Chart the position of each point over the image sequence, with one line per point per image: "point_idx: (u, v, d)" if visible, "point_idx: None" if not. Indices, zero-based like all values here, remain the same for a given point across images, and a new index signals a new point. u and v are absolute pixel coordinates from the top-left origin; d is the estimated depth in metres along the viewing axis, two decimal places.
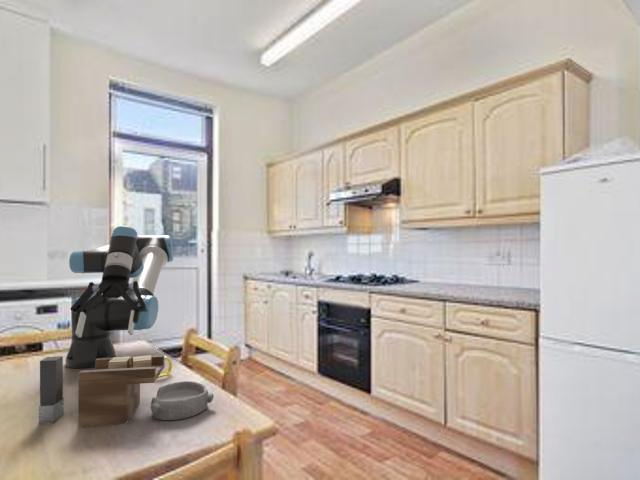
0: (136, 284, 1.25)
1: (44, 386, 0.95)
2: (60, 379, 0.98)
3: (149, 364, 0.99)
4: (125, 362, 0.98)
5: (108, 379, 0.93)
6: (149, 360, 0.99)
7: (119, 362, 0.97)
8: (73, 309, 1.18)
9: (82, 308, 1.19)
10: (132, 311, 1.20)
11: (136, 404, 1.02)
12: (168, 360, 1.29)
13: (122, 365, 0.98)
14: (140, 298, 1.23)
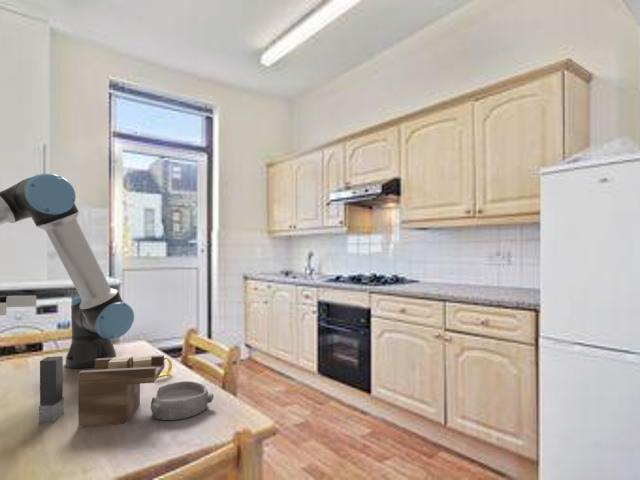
0: None
1: (44, 386, 0.95)
2: (60, 379, 0.98)
3: (149, 364, 0.99)
4: (125, 362, 0.98)
5: (108, 379, 0.93)
6: (149, 360, 0.99)
7: (119, 362, 0.97)
8: None
9: None
10: None
11: (136, 404, 1.02)
12: (168, 360, 1.29)
13: (122, 365, 0.98)
14: None
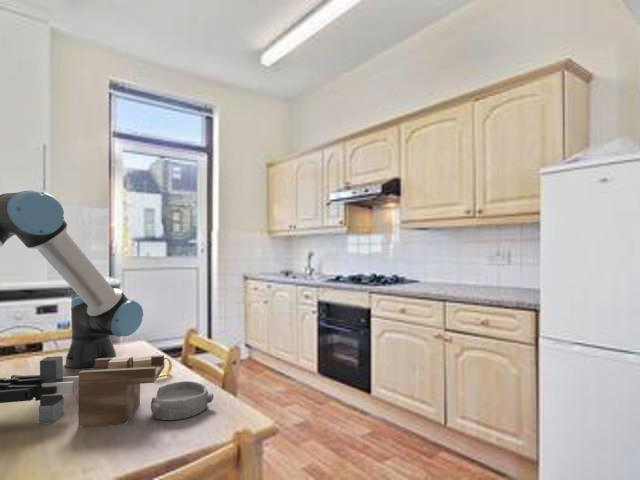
0: None
1: None
2: (60, 379, 0.98)
3: (149, 364, 0.99)
4: (125, 362, 0.98)
5: (108, 379, 0.93)
6: (149, 360, 0.99)
7: (119, 362, 0.97)
8: None
9: None
10: None
11: (136, 404, 1.02)
12: (168, 360, 1.29)
13: (122, 365, 0.98)
14: None
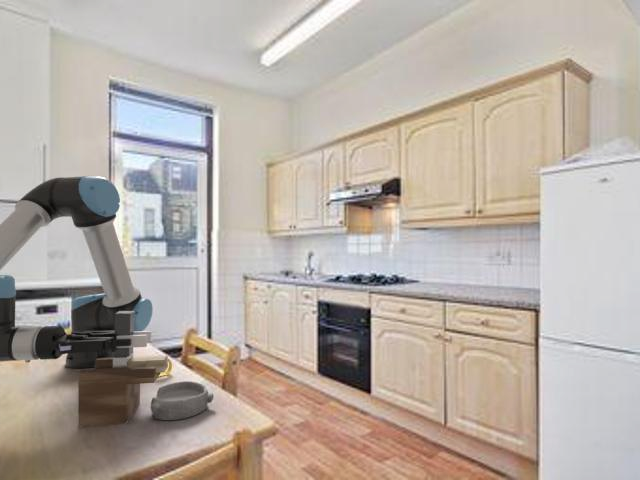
0: (67, 353, 0.91)
1: None
2: (132, 333, 0.99)
3: (162, 364, 0.99)
4: (145, 361, 0.98)
5: (108, 379, 0.93)
6: (162, 360, 0.99)
7: (139, 361, 0.98)
8: None
9: None
10: None
11: (136, 404, 1.02)
12: (168, 360, 1.29)
13: (142, 364, 0.98)
14: None
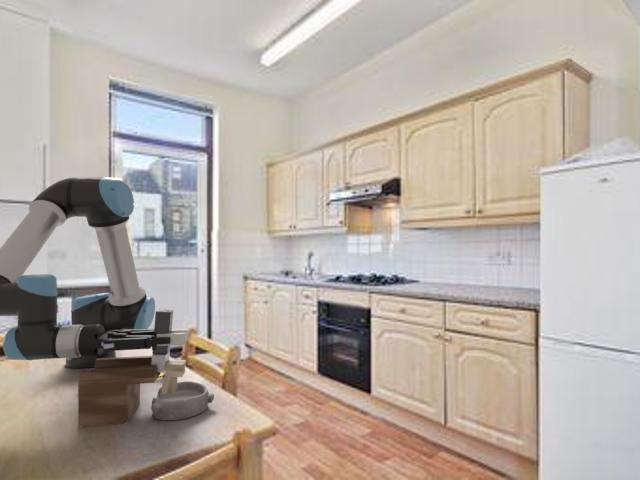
0: (110, 350, 0.93)
1: None
2: (170, 331, 1.01)
3: (169, 391, 0.99)
4: (182, 365, 1.00)
5: (108, 379, 0.93)
6: (173, 391, 0.99)
7: (176, 365, 0.99)
8: None
9: None
10: None
11: (136, 404, 1.02)
12: None
13: (179, 368, 1.00)
14: None
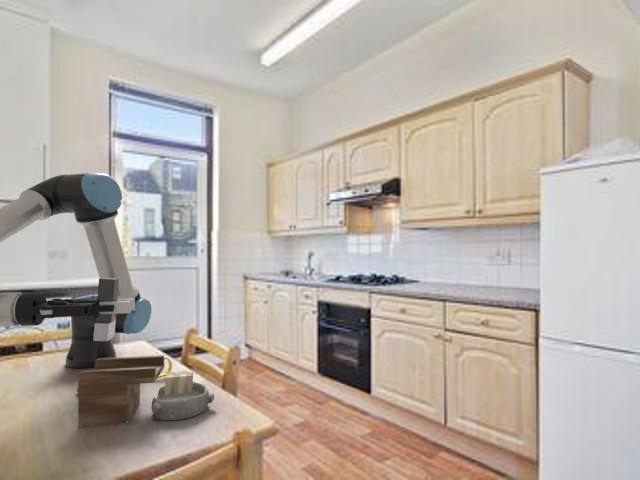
0: (48, 317, 0.90)
1: None
2: (115, 300, 0.98)
3: (172, 392, 0.99)
4: (189, 391, 1.00)
5: (108, 379, 0.93)
6: (176, 391, 0.99)
7: (190, 386, 1.00)
8: None
9: None
10: (101, 313, 0.95)
11: (136, 404, 1.02)
12: (168, 360, 1.29)
13: (186, 389, 1.00)
14: None
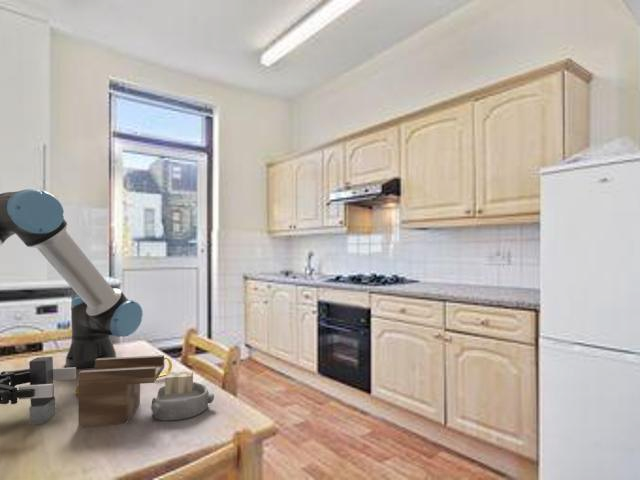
0: None
1: None
2: (50, 379, 0.97)
3: (172, 392, 0.99)
4: (189, 391, 1.00)
5: (108, 379, 0.93)
6: (177, 391, 0.99)
7: (190, 386, 1.00)
8: None
9: None
10: None
11: (136, 404, 1.02)
12: (168, 360, 1.29)
13: (187, 389, 1.00)
14: None
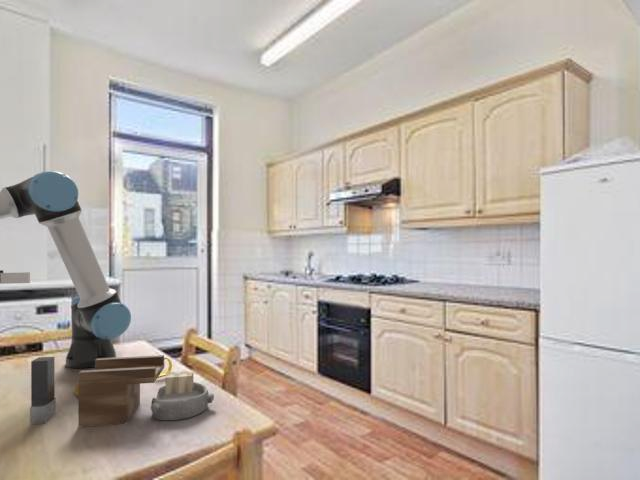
0: None
1: (35, 387, 0.95)
2: (52, 380, 0.97)
3: (173, 391, 0.99)
4: (190, 391, 1.00)
5: (108, 379, 0.93)
6: (177, 391, 0.99)
7: (190, 386, 1.00)
8: None
9: None
10: None
11: (136, 404, 1.02)
12: (168, 360, 1.29)
13: (187, 389, 1.00)
14: None
